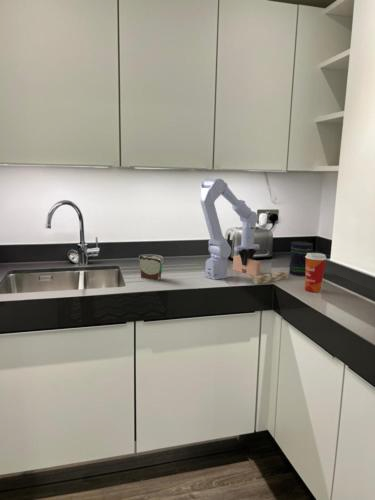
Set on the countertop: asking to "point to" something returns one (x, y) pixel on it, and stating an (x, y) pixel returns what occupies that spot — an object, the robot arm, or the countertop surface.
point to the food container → (151, 266)
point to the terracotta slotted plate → (251, 266)
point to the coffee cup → (314, 271)
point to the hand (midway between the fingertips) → (246, 264)
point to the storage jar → (299, 257)
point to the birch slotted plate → (268, 277)
